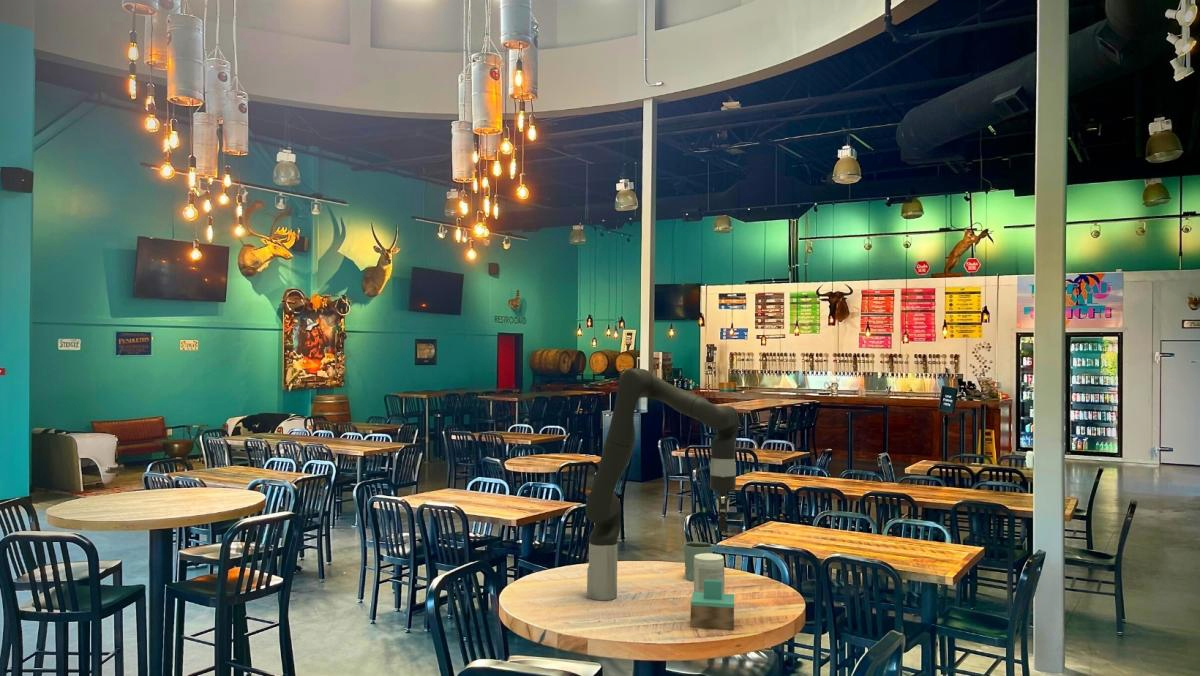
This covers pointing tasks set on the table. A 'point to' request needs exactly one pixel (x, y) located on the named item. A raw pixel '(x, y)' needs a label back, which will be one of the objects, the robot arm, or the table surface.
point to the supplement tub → (707, 570)
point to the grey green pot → (691, 551)
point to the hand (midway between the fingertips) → (722, 528)
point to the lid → (712, 595)
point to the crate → (712, 617)
